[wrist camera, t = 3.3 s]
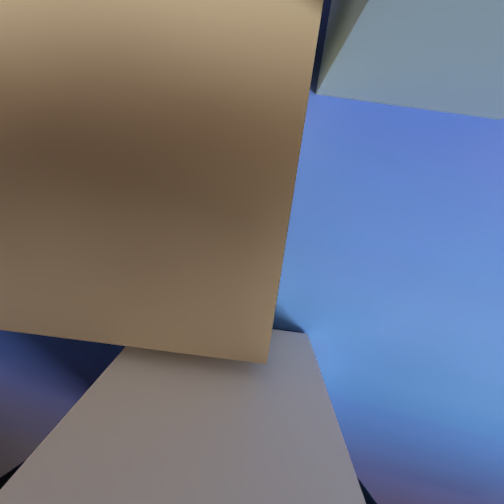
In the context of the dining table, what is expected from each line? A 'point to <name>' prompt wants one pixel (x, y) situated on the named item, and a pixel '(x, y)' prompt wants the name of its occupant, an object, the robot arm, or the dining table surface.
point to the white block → (196, 435)
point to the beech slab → (150, 168)
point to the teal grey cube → (417, 54)
